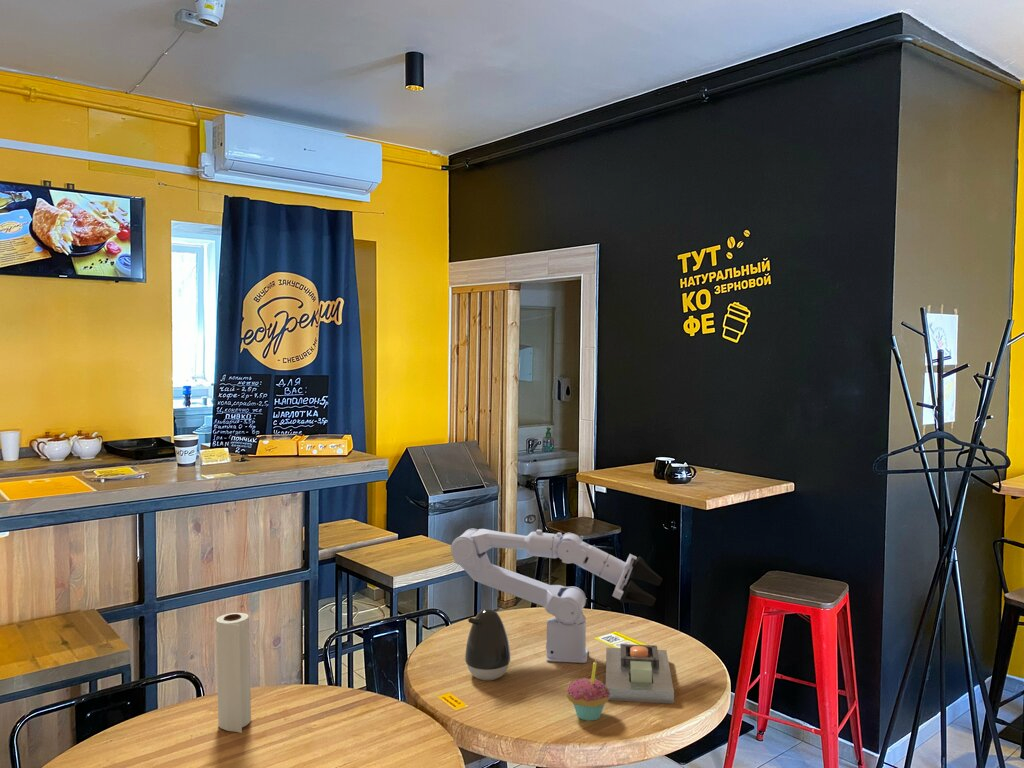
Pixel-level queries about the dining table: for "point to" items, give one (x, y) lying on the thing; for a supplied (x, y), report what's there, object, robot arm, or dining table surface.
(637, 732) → the dining table surface
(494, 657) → the dark grey egg-shaped figure
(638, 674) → the pale green block
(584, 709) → the cupcake
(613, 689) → the control box
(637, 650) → the button
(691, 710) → the dining table surface
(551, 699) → the dining table surface
